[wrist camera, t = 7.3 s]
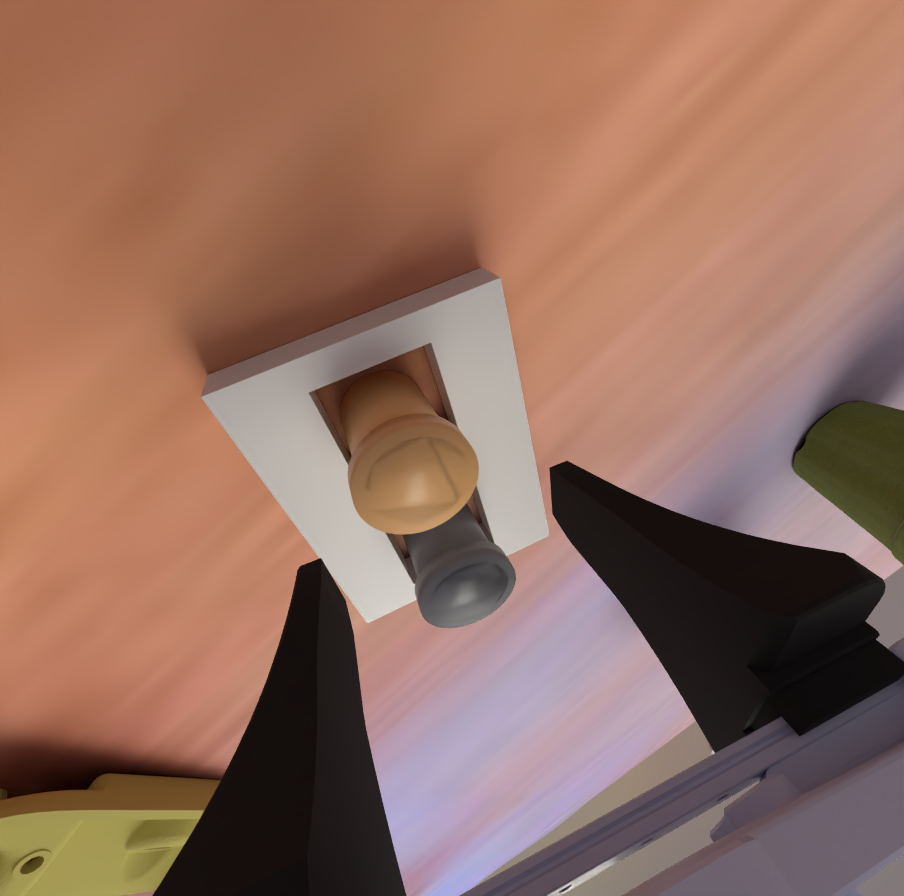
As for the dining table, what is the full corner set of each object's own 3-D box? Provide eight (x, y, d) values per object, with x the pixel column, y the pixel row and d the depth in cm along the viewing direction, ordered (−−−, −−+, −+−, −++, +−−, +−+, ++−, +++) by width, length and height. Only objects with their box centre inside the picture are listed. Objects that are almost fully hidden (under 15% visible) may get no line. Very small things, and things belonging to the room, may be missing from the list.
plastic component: (267, 810, 33) (170, 956, 30) (234, 739, 38) (149, 859, 35) (-75, 809, 19) (-305, 1073, 17) (-55, 699, 24) (-229, 888, 22)
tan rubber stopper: (345, 464, 22) (368, 549, 17) (318, 376, 19) (335, 449, 14) (437, 438, 23) (482, 511, 18) (424, 351, 20) (473, 411, 15)
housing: (206, 375, 17) (200, 397, 16) (480, 267, 19) (500, 277, 17) (361, 596, 27) (367, 623, 25) (533, 514, 28) (549, 535, 27)
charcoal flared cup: (378, 501, 24) (406, 587, 19) (459, 465, 24) (505, 540, 19) (406, 555, 26) (437, 641, 22) (478, 521, 27) (522, 598, 22)
